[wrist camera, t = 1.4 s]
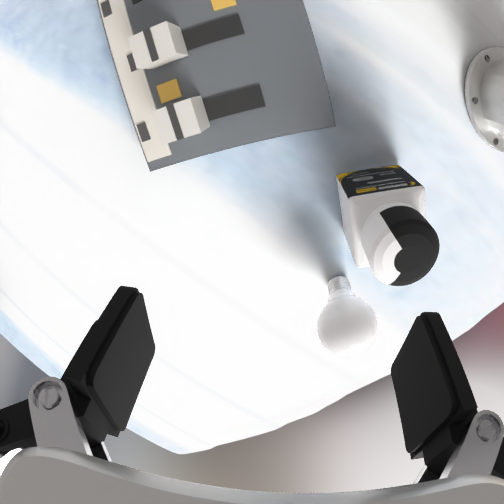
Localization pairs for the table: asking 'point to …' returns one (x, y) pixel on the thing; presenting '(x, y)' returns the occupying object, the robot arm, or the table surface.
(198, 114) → the switch
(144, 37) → the switch
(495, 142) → the robot arm
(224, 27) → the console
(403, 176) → the medicine bottle
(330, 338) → the lightbulb
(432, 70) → the table surface
